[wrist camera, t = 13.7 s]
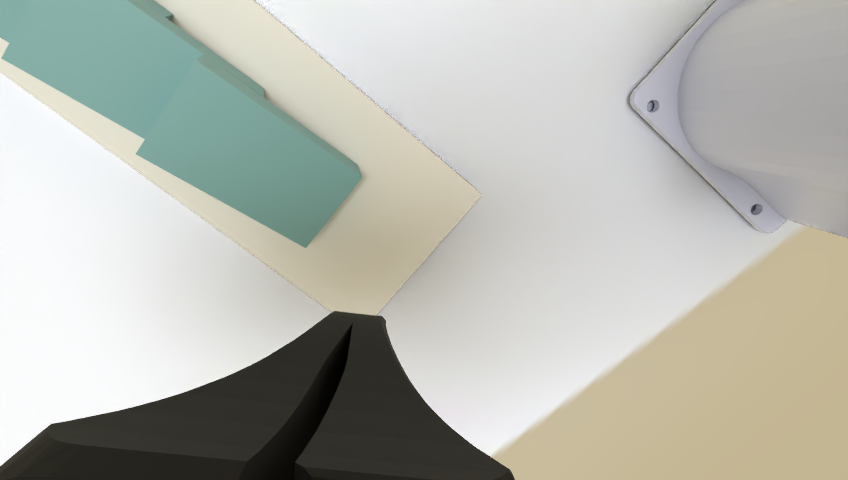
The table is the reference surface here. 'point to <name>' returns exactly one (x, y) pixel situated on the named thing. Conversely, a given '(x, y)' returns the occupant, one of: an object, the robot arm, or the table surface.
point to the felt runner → (331, 121)
